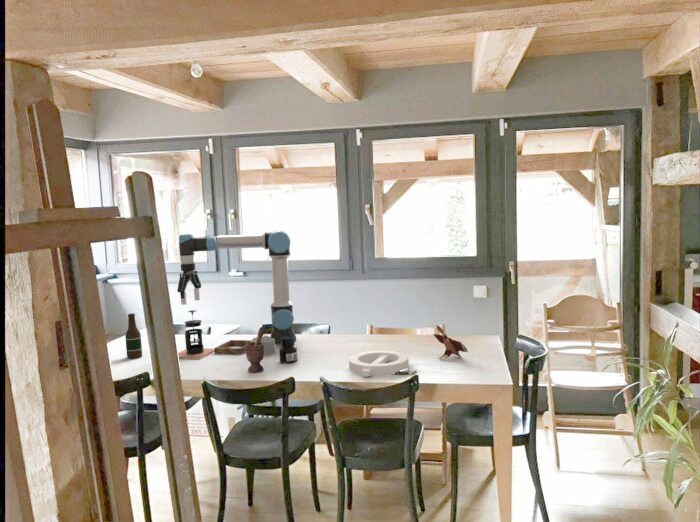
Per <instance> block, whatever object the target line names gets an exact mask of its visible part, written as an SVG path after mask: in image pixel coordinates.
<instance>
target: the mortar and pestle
mask: <svg viewBox="0 0 700 522" xmlns="http://www.w3.org/2000/svg"><path fill="white" fill-rule="evenodd" d="M265 330H266V329H265V327H263V326H261V327H259V328H258V332H257V335H256V337H257V340H256V342H251V343H247V344H245V348H246V352H245V356H246V359H247V361H248V362H249V363H250V365H249V367H248V368H247V372H248V373H250V374H251V373H253V374H254V373H261V372H262V371H264V366H263V365H262V364H261V362H262V361H263V359H264V356H265V355H264V345H263V343H261V342H260V341H261V339H262V337H263V336H265V335H264V334H265V333H266V331H265Z"/></svg>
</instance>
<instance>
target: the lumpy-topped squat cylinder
mask: <svg viewBox="0 0 700 522" xmlns="http://www.w3.org/2000/svg"><path fill="white" fill-rule="evenodd" d="M256 340H257V336H256V337H254V338H252V339H251V341H250V343H251V342H256ZM260 342H261V343H263V345H264V355H263V356H268V355H269V356H271V355H274V354H276V352H277V351H276V350H277V349H276V344H275V339H273V338H271V337H270V335H266V334H265V335H263V337H262V339H261V341H260Z"/></svg>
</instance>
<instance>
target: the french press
mask: <svg viewBox="0 0 700 522" xmlns="http://www.w3.org/2000/svg"><path fill="white" fill-rule="evenodd" d="M196 312H197V310H194V309H193V310H192V309H191V310H188V313H191V315H192V317H191V318H192V320H187V321H184V324H185V327H186V328H191V329H187V330H185V331H184V337H185V338H184V339H185V349H186V350H187V352H186V353H187V354H199V353H202V352H204V349H203V348H204V344H203V335H202V333H203V329H201V328H196V327H200V326H202V321H203V320H201V319H194V313H196ZM192 335H193V339H191V336H192ZM195 335H197V338H196V337H195Z"/></svg>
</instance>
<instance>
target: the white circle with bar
mask: <svg viewBox="0 0 700 522" xmlns="http://www.w3.org/2000/svg"><path fill="white" fill-rule="evenodd" d="M406 368H408V369H409V356H408V355H407V354H406V353H404V352H400V351H395V350H385V349H384V350H383V349H382V350H379V349H378V350H368V351H362V352H361V351H360V352H358V353H354V354H353V355H351V356H349V358H348V369H349V371H350V372H352V373H353V374H356V375H360V376H361V377H367V378H369V377H383V376H385V377H386V376H391V375H396V374H395V373H396V372H398V371H400V370H403V369H406Z"/></svg>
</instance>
